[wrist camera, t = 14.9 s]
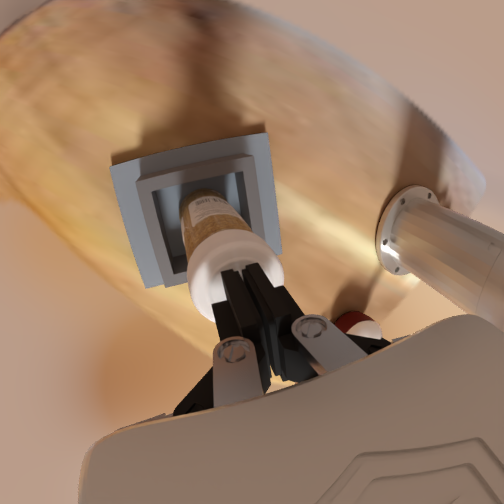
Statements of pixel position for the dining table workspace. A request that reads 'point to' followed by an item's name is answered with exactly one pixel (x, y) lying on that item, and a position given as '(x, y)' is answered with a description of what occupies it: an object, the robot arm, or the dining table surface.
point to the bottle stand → (183, 183)
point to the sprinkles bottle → (219, 247)
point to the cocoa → (359, 325)
